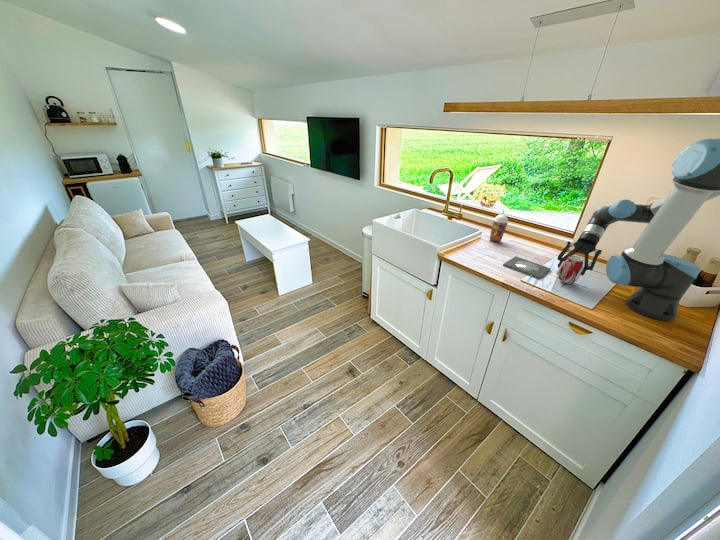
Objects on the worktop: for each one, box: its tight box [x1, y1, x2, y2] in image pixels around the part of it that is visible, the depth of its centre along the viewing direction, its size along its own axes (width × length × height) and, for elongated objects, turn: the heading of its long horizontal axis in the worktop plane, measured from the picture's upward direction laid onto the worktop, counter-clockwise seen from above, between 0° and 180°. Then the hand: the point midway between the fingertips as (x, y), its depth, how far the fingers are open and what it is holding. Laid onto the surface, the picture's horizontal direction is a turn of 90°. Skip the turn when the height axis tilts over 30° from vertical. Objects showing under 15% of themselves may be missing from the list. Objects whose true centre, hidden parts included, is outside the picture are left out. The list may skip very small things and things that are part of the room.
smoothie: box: [489, 209, 509, 244], centre depth 173 cm, size 8×8×20 cm
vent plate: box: [502, 255, 552, 280], centre depth 146 cm, size 18×15×1 cm
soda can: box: [557, 255, 584, 284], centre depth 131 cm, size 7×7×12 cm
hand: (566, 276), depth 130 cm, fingers closed on soda can, 7 cm apart
